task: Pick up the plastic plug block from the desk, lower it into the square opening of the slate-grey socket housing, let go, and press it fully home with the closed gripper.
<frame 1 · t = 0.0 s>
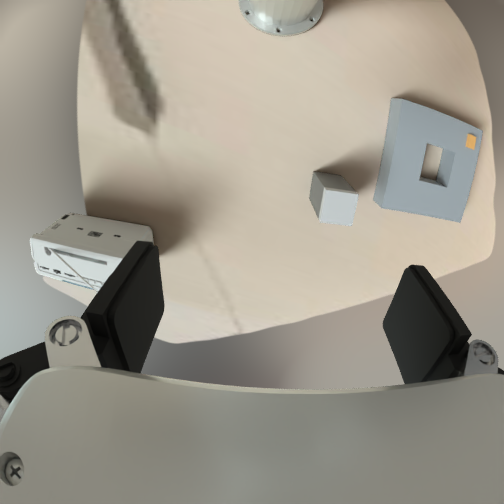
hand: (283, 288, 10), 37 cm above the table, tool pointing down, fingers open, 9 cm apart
plug: (324, 186, 45), on the table
socket: (426, 160, 42), on the table
stereo radio cassette player: (108, 232, 51), on the table
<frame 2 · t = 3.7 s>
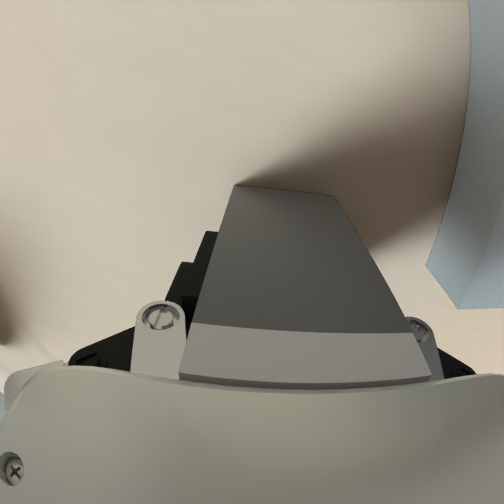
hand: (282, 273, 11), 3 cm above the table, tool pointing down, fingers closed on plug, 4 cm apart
plug: (278, 234, 14), on the table, touching gripper
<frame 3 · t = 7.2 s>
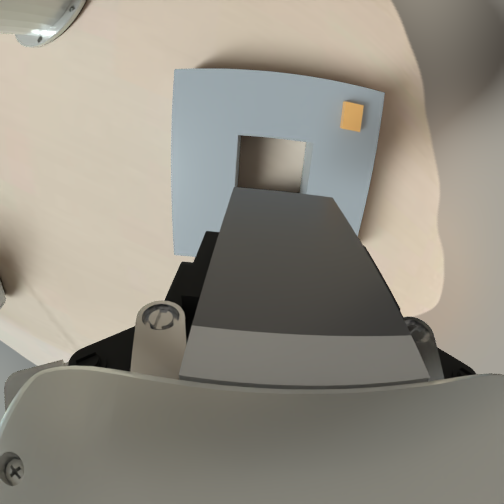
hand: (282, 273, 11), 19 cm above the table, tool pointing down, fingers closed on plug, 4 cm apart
plug: (278, 236, 14), point 16 cm above the table, touching gripper
socket: (271, 164, 28), on the table
when the fingers open (5 cm above the table, at t = 10.8 s): plug drops 2 cm, resting in socket.
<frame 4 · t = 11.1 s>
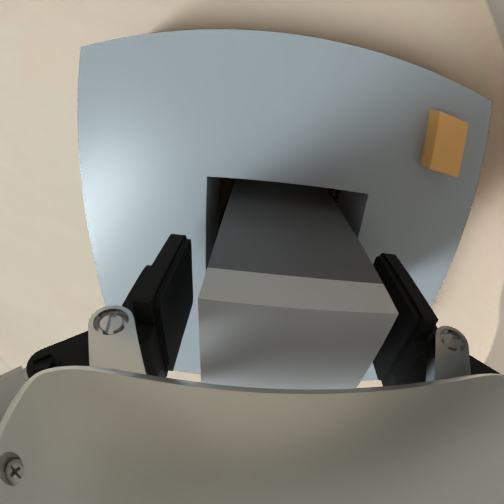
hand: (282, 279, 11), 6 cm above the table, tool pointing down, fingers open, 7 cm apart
plug: (275, 219, 16), resting in socket
socket: (276, 219, 16), on the table
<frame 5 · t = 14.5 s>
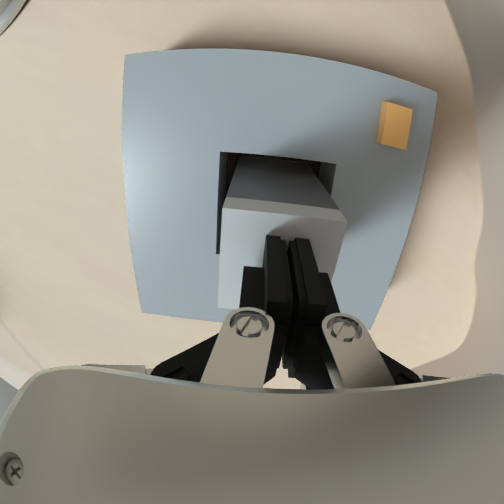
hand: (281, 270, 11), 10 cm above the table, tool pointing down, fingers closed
plug: (270, 190, 20), resting in socket, touching gripper
socket: (271, 189, 20), on the table
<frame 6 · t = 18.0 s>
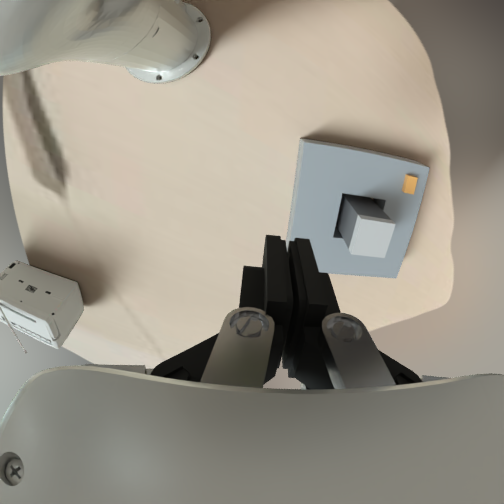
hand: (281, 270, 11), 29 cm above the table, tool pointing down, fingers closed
plug: (351, 208, 40), resting in socket
socket: (351, 208, 40), on the table
stereo radio cassette player: (48, 281, 50), on the table
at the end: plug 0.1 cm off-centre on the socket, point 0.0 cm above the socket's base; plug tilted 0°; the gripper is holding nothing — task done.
